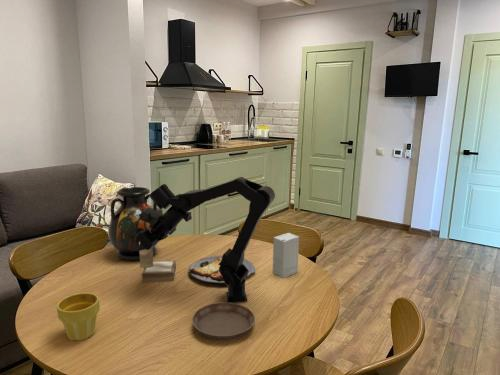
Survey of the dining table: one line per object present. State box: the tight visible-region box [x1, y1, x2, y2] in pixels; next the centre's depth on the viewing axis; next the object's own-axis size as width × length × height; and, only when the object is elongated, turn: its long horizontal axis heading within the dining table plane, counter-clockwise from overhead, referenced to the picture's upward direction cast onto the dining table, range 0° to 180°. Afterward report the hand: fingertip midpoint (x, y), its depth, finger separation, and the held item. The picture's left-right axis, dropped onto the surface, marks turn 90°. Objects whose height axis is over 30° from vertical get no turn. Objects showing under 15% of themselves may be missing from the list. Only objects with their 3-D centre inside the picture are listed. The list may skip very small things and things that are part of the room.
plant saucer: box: [191, 302, 256, 342], centre depth 106 cm, size 18×18×3 cm
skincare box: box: [272, 232, 300, 279], centre depth 140 cm, size 8×6×15 cm
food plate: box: [188, 254, 256, 284], centre depth 141 cm, size 25×23×4 cm
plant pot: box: [56, 292, 100, 341], centre depth 101 cm, size 10×10×10 cm
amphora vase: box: [107, 186, 160, 262], centre depth 155 cm, size 22×22×28 cm
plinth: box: [141, 260, 177, 283], centre depth 138 cm, size 11×11×3 cm
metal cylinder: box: [139, 242, 154, 269], centre depth 129 cm, size 4×4×10 cm
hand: (142, 247), depth 129 cm, fingers closed on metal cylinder, 4 cm apart
